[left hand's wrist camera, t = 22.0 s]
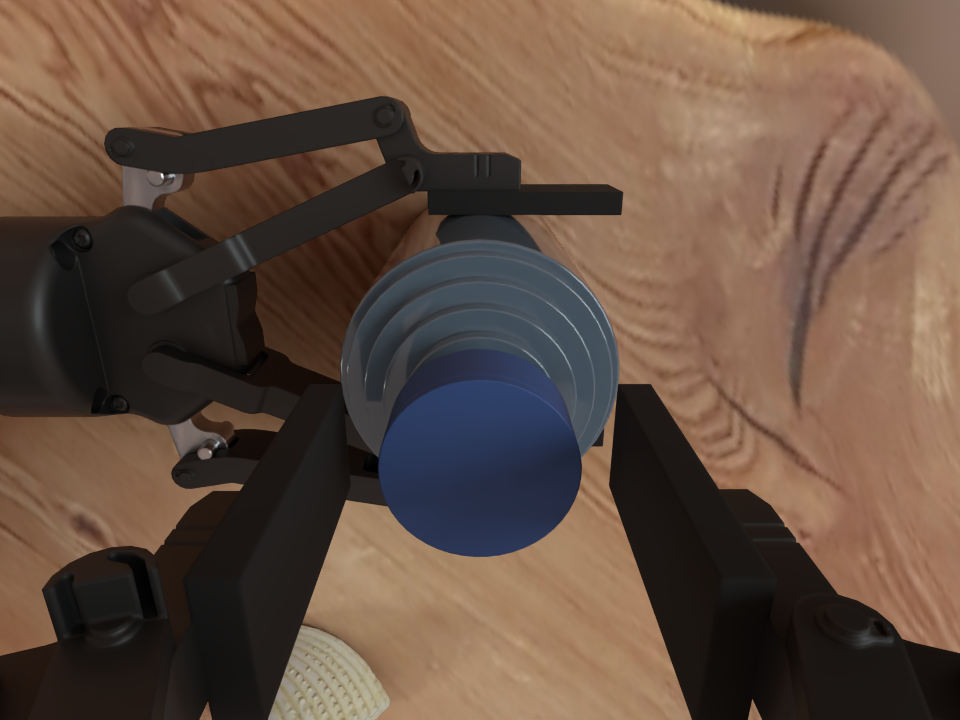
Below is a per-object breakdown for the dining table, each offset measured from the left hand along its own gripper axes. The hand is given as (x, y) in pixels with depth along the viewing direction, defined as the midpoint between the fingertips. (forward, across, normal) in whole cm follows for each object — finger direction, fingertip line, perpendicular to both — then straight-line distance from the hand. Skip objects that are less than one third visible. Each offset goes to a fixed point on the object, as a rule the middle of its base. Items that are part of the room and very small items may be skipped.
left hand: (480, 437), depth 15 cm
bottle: (+16, 0, 0) cm, 16 cm away
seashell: (+16, +11, +25) cm, 32 cm away
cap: (-1, 0, 0) cm, 1 cm away
